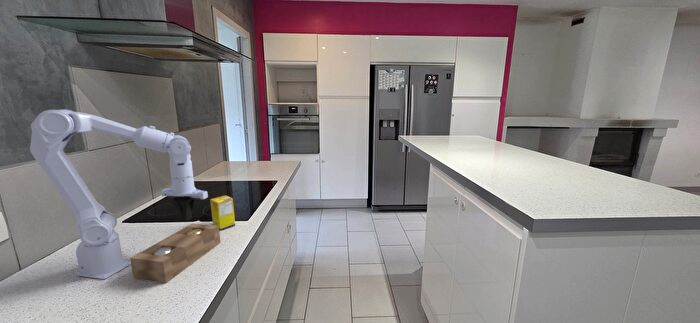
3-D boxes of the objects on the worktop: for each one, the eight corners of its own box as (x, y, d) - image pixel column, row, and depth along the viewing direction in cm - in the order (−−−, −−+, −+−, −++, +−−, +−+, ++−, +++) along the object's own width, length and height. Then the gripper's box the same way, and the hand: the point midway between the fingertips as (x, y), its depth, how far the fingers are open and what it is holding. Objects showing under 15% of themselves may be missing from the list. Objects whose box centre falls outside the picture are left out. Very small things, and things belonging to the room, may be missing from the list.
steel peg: (152, 272, 77) (150, 253, 76) (165, 264, 81) (162, 246, 80) (165, 273, 76) (162, 255, 75) (177, 265, 80) (174, 247, 79)
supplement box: (227, 221, 111) (225, 194, 109) (235, 225, 107) (233, 198, 105) (212, 226, 107) (209, 198, 104) (220, 231, 103) (217, 202, 101)
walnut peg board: (133, 278, 75) (130, 257, 74) (194, 240, 96) (192, 223, 95) (166, 283, 73) (162, 261, 72) (220, 242, 94) (218, 225, 93)
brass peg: (186, 250, 89) (184, 234, 88) (195, 244, 92) (193, 228, 91) (197, 251, 88) (195, 235, 87) (206, 245, 92) (204, 229, 91)
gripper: (212, 174, 87) (216, 216, 90) (172, 172, 90) (177, 212, 93) (196, 180, 80) (201, 225, 83) (153, 177, 83) (159, 221, 86)
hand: (187, 219), depth 87 cm, fingers closed
